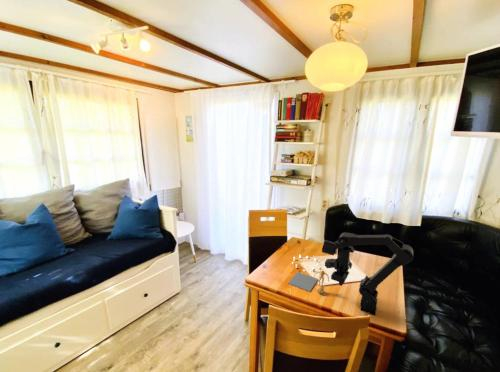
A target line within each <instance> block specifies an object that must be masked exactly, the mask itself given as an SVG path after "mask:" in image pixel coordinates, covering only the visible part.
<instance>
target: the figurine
mask: <svg viewBox="0 0 500 372" xmlns="http://www.w3.org/2000/svg"><path fill="white" fill-rule="evenodd" d="M317 274H319V276H318V285H316V292H317V293H319V294H322V293H324V291H325V289H324V286H323V285H324V281H325V277H324V275H325V276H326V277H327V280H328V282H330V278H329V274H328V273H326V272H325V271H324V270H319V271H316V272H315V274H314V275H313V277H316V275H317Z"/></svg>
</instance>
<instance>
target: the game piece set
mask: <svg viewBox="0 0 500 372" xmlns="http://www.w3.org/2000/svg"><path fill="white" fill-rule="evenodd" d="M305 257H306V259H310V258H309V255H306V256H305ZM299 258H300V259H302V255H301V254H299V256H298V259H299ZM292 259H293V260H292V262H291V264H292V265H295V269H297V268H298V266H299V264H298V263H297V264H295V261H296V259H297V258H296V256H293V258H292ZM293 261H294V262H293ZM313 261H315V262H317V258H316V257H315V256H313ZM317 265H318V267H317V269H318V270H320V269H322V267H320V266H322V264H321V260H320V259H318V263H317ZM302 270H303V272H306V270H305V269H303V268H302ZM315 270H316V268H315V267H311V271H312V272H315Z"/></svg>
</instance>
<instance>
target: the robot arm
mask: <svg viewBox="0 0 500 372" xmlns="http://www.w3.org/2000/svg"><path fill="white" fill-rule="evenodd" d="M358 245H359V246H360V245H361V246H364V245H366V246H367V245H369V246H370V245H371V246H372V245H373V246H374V245H375V246H386V247H387V248H388V249H389V250H390V251H391V252H392V253H393V255H392V257H391V258H390V259H389V260H388V261H387V262H386V263H385V264H384V265H383V266H382V267H381V268H379V269H378V270H377V271H376V272H374V274H373V275H372V276H370V277H369V276H368V275H365V277H364V278H362V279H361V280H360V283H359V288H358V292H359V295H360V296H361V298H360V303H359V306H360V311H362V312H364V313H367V314H370V315H372V316H376V314H377V313H376V312H377V308H378V307H377V305H378V296H379V295H378V294H379V292H378V290H377V288H378V286H379V285H380V284H382V283H383V282H384V281H385V280H386V279H387V278H388V277H389V276H390V275H392V273H394V272H395V271H396V270H397V269H398V268H399V267H401V266H405V265H407V264H409V263H410V262H412V261H413V260H414V249H413V247H412V246H411V245H409V244H405V243H404V242H402V241H401V240H399V239H397V238H396V237H393V236H392V235H390V234H387V233H386V234H360V235H359V234H355V233H353V232H352V233H351V232H342V233H341V234H340V235H339V237H338V239H337V240H335V241H334V242H333V241H331V240H328V239H325V240H324V241H323V245H322V247H321V253H323V254H326V255H327V254H328V255H330V256H335V255H337V256H336V258H327V259H326V260H325V261H324V267H325V268H326V269H334V270H335V271H333V272H332V273H331V275H330V279H331V280H332V281H335V282H338V285H339V286H340V287H343V285H344V283H345V282H346V280H347V278H348V276H349V274H350V271H349V270H351V269H352V267H353V263H352V262H351V259H350V255H351V253H352V254H353V253H354V252H355V248H354V247H355V246H358Z"/></svg>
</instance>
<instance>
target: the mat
mask: <svg viewBox="0 0 500 372" xmlns="http://www.w3.org/2000/svg"><path fill="white" fill-rule="evenodd" d="M317 282H319V278H317V277H315V276H311V275H308V274H305V273H302V272H299V271H297V272H296V273H295V275H293V277H292V278H291V279H290V280H289V281H288V282H287V284H288V285H291V286H292V287H296V288H299V289H302V290H304V291H306V292H307V293H308V292H309V293H310V292H311V291H312V290H313V288H314V287H315V285H316V284H317Z"/></svg>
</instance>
